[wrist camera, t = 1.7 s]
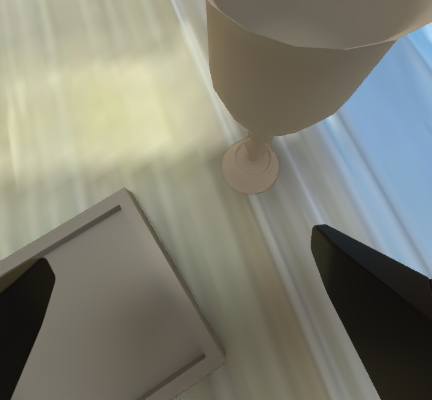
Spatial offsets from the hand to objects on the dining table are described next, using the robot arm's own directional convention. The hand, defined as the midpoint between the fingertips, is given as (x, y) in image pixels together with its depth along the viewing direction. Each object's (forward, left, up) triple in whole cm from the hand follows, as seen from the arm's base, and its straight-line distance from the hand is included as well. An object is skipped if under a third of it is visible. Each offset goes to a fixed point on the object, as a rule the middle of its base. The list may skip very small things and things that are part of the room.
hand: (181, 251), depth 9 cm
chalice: (+4, -7, -14) cm, 16 cm away
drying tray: (0, +11, -14) cm, 17 cm away
